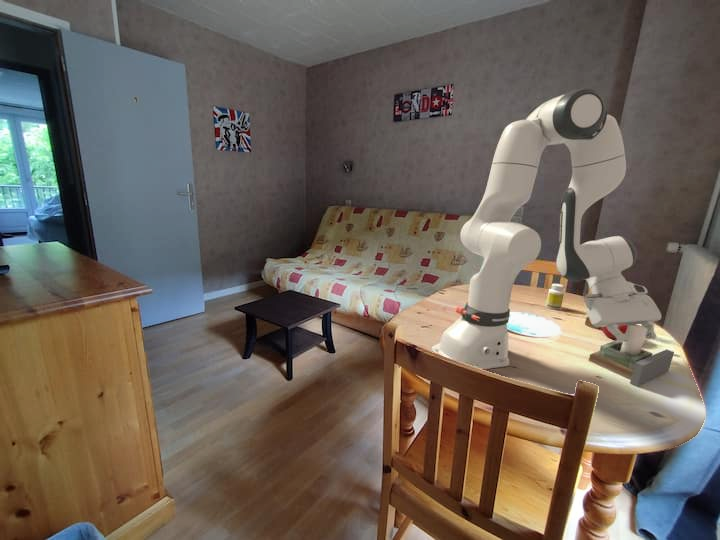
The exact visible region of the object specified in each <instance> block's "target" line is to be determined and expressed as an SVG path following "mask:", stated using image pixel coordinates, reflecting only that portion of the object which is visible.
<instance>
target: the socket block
mask: <svg viewBox="0 0 720 540" xmlns="http://www.w3.org/2000/svg"><path fill="white" fill-rule="evenodd" d="M622 343H623V342H618V341H617V340H616V339H615V340H612V341H610V342H607V343H604V344H602V345H600V348H599V350H597V351H596V352H593V353H590V354H589V357H588V358H589V359H588V361H589V362H590V363H592V364H596V365H598V366H600V367H602V368H603V369H607V370H608V371H610V372H613V373H614V374H617V375H618V376H619V375H620V377H623V378H625V379H628V380H630V381H631V378H632V374H633V370H634V367H635V363H636V362H638V361H640V360H643V359H645V358H647V357H650V356H652V355H654V354H653V353H652V352H650V351H648V350H645V349H642V348H641V351H640V354H639V355H637V356H634V357H632V356H630V355H627V354H625V353H623V352H620V350H621V347H622Z"/></svg>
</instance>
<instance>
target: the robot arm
mask: <svg viewBox="0 0 720 540" xmlns="http://www.w3.org/2000/svg"><path fill="white" fill-rule="evenodd" d="M561 144H564V145H565V146H566V147H567V148H568V151H569V152H570V161H571V169H572V170H571V171H572V174H571V179H570V182H569V185H568V187H567V189H565V190H564V191H563V192H562V195H561V198H560V206H559V208H560V209H559V227H558V245H557V246H558V248H557V252H556V253H557V254H556V257H555V258H556V259H555V265H556V269H557V272H558V274H559V275H560V277H562V278H564V279H565V280H568V281H571V282H574V283H579V282H582V281H586V282H587V283H588V289H589V290H590V292H591V294H586V295H585V296H584V297H583V303H584V305H585V309H586V314H587V317H589V319H590V321H591V323H592V324H593V325H594V326H595V327H607V329H608V331H609V332H611V333H612V334H613V335H614V336H615V337H616V339H617V341H618V342H624V341H627V340H628V338H627V337H626V334H623V333H622V332H621V331H620V330H619V329H618V326H620V325H628V324H636V325H640V326H643V327H645V328H647V329H648V330H647V333H646V336H645V339H646V340H653V339H654V340H655V339H656V338H657V336H658V335H656V332H655V325H654V324H655V323H656V322H659V321H660V320H661V319H662V313H661V311H660V309H659V308H658V306H657V304H656V303H655V301H654V299H653V298H651V296H649V295H648V293H649V291H648V289H647V287H645V286H643V285H641V284H636V283H633V282H631V281H627V280H626V278H625V276H623V274H622V271H625V270H628V269H629V268H631V267H632V266H633V265H635V262H636V260H637V258H638V252H637V251H638V250H637V249H636V247H635V245H634V244H633V243H632V242H631V241H630V240H629V239H627V238H626V237H624V236H621V235H615V236H608V237H604V238H600V239H597V240H588V241H586V242H583V243H581V242H580V241H581V225H582V224H581V223H582V217H583V216H584V214H585V212H586V211H587V209H589V208H590V207H591V206H592V205H593V204H595V203H596V202H598V201H599V200H601V199H603V198H604V197H605V196H607V195H609V194H611V192H613V191H614V190H615V189H616V188H617V187H618V186H619V185H620V184H621V183H622V181H623V180H624V178H625V175H626V172H627V161H626V159H627V158H626V153H625V152H626V151H625V146H624V140H623V136H622V132H621V129H620V127H619V124H618V122H617V119H616V118H615V117H614V116H612V115H610V114H608V110H607V109H606V105H605V101H604V99H603V97H602V96H601V95H600V93H598V91H596V90H595V89H591V88H578V89H573V90H570V91H569V92H567V93H565V94H561V95H559V96H555V97H553V98H550V99H548V100H547V101H544V102H543V103H542V104H540V105H538V106H536V107H534V108H533V109H532V110H531V111H530V112H529V113H528V114H527V115H526V117H525V118H524V119H519V120H516V121H513V122H511V123H509V124H508V125H507V126H505V128H504V129H503V132H502V133H501V136H500V138H499V140H498V143H497V146H496V148H495V152H494V156H493V158H492V161H491V162H492V163H491V167H490V171H489V175H488V179H487V184H486V188H485V191H484V194H483V196H482V198H481V199H482V200H481V201H480V204H479V205H478V207H477V208H476V211H475V212H474V214H473V215H472V217H471V218H470V219H469V220H467V221H466V222H465V223H464V225H463V226H462V227H461V230H460V242H461V243H462V245H463V246H464V247H465V248H466V249H467V250H468V251H470V252H471V253H473V255H474V254H475V255H478V256H480V257H482V258H483V263H482V266H481V268H480V269H479V271H478V273H477V272H476V273H475V274H473V275H472V277H471V278H470V281H469V289H468V297H467V302H466V304H465V305H464V307H462V306H459V305H458V306H456V308H455V313H457V314H458V315H461V316H460V317H459V318H458V319H456V321H454V323H452V324H451V325H450V326H449V327H448V328H447V329H445V330H444V331H443V333H442V335H441V339H440V342H439V343H436V344H434V345H432V347H431V352H432V351H433V352H435V353H438V354H440V355H442V356H444V357H447V358H450V359H453V360H456V361H460V362H463V363H466V364H469V365H472V366H476V367H478V368H482V369H483V370H490V369H494V368H495V369H497V368H500V367H501V368H503V367H509V366H510V364H511V363H510V359H509V354H508V353H509V332H508V327H507V325H508V323H509V319H510V316H511V315H510V312H511V311H510V310H511V309H510V303H511V296H512V292H513V291H512V290H513V287H514V283H515V281H516V278H517V276H519V274H520V272H521V271H522V270H523V269H524V268H525V267H526V266H528V265H531V264H532V263H534V261H535V260H536V259H537V257H538V256H539V255H540V252H541V248H542V239H541V236H540V234H539V233H538V232H537V231H536V230H535V229H533V228H531V227H529V226H527V225H524V224H523V223H520V222H514V221H512V219H513V217H514V215H515V214H516V212H517V211H518V210H519V209H520V208H521V207H522V206H524V205H525V204H526V203H528V202H529V200H530V199H531V196H532V192H533V188H534V186H535V181H536V178H537V177H536V176H537V173H538V169H539V165H540V161H541V156H542V154H543V152H544V150H545V148H546V147H547V146H552V145H561ZM580 243H581V244H580ZM616 339H615V340H616ZM433 352H432V353H433Z"/></svg>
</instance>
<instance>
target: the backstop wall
mask: <svg viewBox="0 0 720 540" xmlns="http://www.w3.org/2000/svg"><path fill="white" fill-rule="evenodd" d="M674 355H675V351H673V350H669V349H664V350H662V351H659V352H658V353H657V352H656V353H654V354H652V356H650V357H647V358H645V359H643V360H640V361H638V362H636V363H635V367H634V370H633V374H632V378H631V380H630V381H629V384H630V385H633V386H635V387H640V386H642V385H644V384H646V383H649V382H650V381H652V380H655V379H657V378H659V377H661V376H662V375H664V374H667V373H668V372H669V371H670V368H671V364H672V361H673V357H674Z"/></svg>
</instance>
